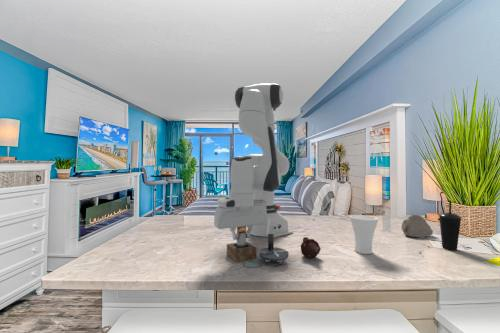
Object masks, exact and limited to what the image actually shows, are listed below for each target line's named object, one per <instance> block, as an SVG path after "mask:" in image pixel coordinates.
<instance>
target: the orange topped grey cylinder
mask: <svg viewBox="0 0 500 333" xmlns="http://www.w3.org/2000/svg"><path fill="white" fill-rule="evenodd" d="M246 232H247V226H244V227H236V234H238V239H236V243H237V248H244V247H246V242H247V238H246Z"/></svg>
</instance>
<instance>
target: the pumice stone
mask: <svg viewBox="0 0 500 333" xmlns="http://www.w3.org/2000/svg"><path fill="white" fill-rule="evenodd" d="M400 228H401V231H402V232H403V234H404V235H405V236H407V237H411V238H427V237H429V236H432V235H433V232H434V231H433V229H432V228H431V225H430V224H428V222H427V220H426V219H425V218H424V217H423V216H421V215H419V214H411V215H410V216H408V218H406V219H404V220H403V221H402V224H401V226H400Z"/></svg>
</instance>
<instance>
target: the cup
mask: <svg viewBox="0 0 500 333" xmlns="http://www.w3.org/2000/svg"><path fill="white" fill-rule="evenodd" d="M349 219H350V222H351V225H352V229H353V233H354V241H355V242H354V251H355V252H356V253H358V254H363V255H371V254H373V239H374V236H375V235H374V234H375V230H376V228H377V225H378V223H379V220H380V219H379V218H378V217H376V216H371V215H366V214H365V215H364V214H352V215H350V216H349Z"/></svg>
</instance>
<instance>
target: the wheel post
mask: <svg viewBox="0 0 500 333" xmlns="http://www.w3.org/2000/svg"><path fill="white" fill-rule="evenodd" d="M283 261H284V260H280V261H272V260H266V259H264V262H265V263H266V264H267V265H270V266H279V265H282V264H283V263H284V262H283Z"/></svg>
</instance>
